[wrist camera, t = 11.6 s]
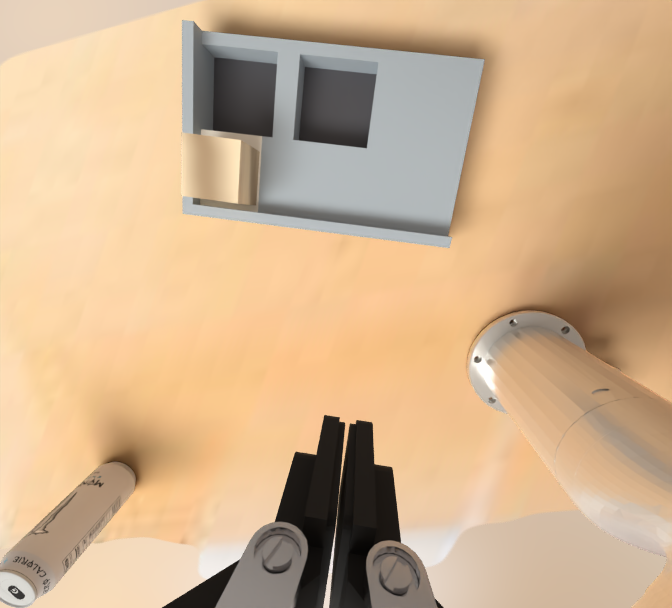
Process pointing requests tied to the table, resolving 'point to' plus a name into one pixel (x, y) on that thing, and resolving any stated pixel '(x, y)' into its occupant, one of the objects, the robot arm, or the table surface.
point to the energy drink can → (63, 535)
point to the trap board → (334, 131)
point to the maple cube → (219, 169)
